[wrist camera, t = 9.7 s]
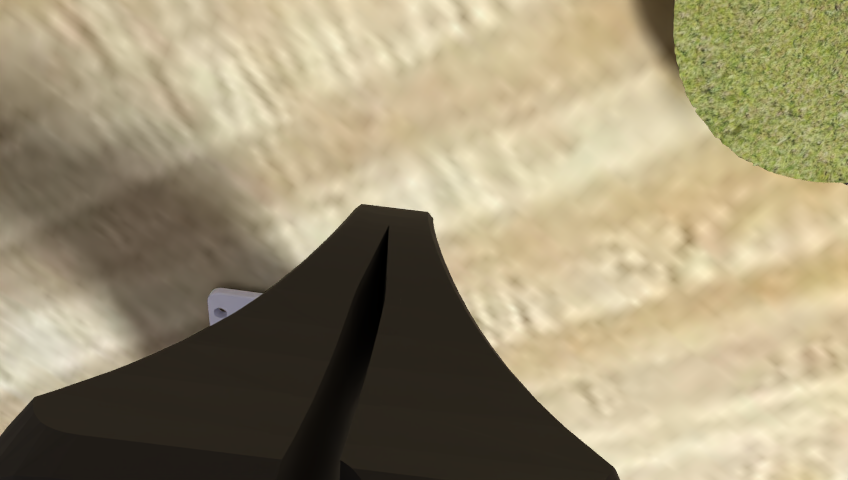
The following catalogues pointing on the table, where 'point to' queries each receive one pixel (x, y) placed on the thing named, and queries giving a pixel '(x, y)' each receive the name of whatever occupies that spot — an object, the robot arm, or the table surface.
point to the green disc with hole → (770, 80)
